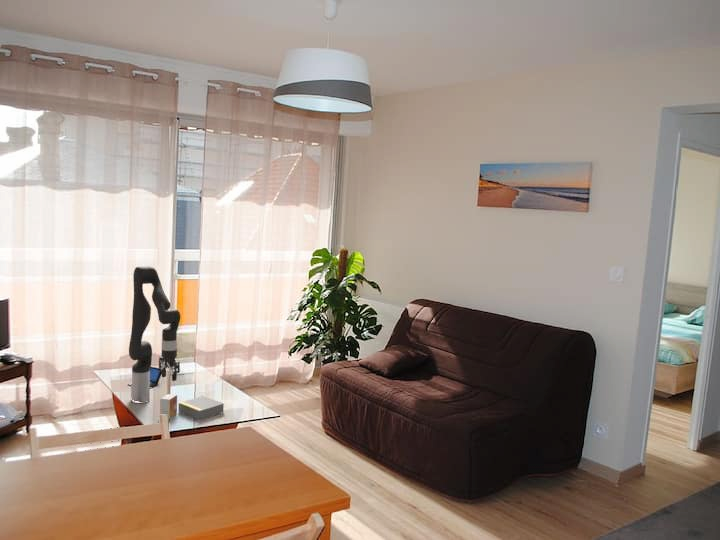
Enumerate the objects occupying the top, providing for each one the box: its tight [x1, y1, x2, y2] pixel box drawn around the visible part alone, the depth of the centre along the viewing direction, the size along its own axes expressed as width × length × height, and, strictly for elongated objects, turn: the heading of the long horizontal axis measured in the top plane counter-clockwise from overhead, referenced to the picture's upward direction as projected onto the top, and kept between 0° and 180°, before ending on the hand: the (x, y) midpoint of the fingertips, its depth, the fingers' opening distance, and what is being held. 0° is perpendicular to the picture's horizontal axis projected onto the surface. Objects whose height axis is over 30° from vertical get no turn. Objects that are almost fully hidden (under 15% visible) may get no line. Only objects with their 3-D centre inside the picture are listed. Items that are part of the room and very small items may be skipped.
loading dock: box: [178, 395, 225, 421], centre depth 323 cm, size 17×16×5 cm
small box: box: [159, 393, 178, 420], centre depth 315 cm, size 8×6×10 cm
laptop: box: [150, 366, 162, 388], centre depth 362 cm, size 16×13×9 cm
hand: (169, 378), depth 313 cm, fingers open, 8 cm apart
